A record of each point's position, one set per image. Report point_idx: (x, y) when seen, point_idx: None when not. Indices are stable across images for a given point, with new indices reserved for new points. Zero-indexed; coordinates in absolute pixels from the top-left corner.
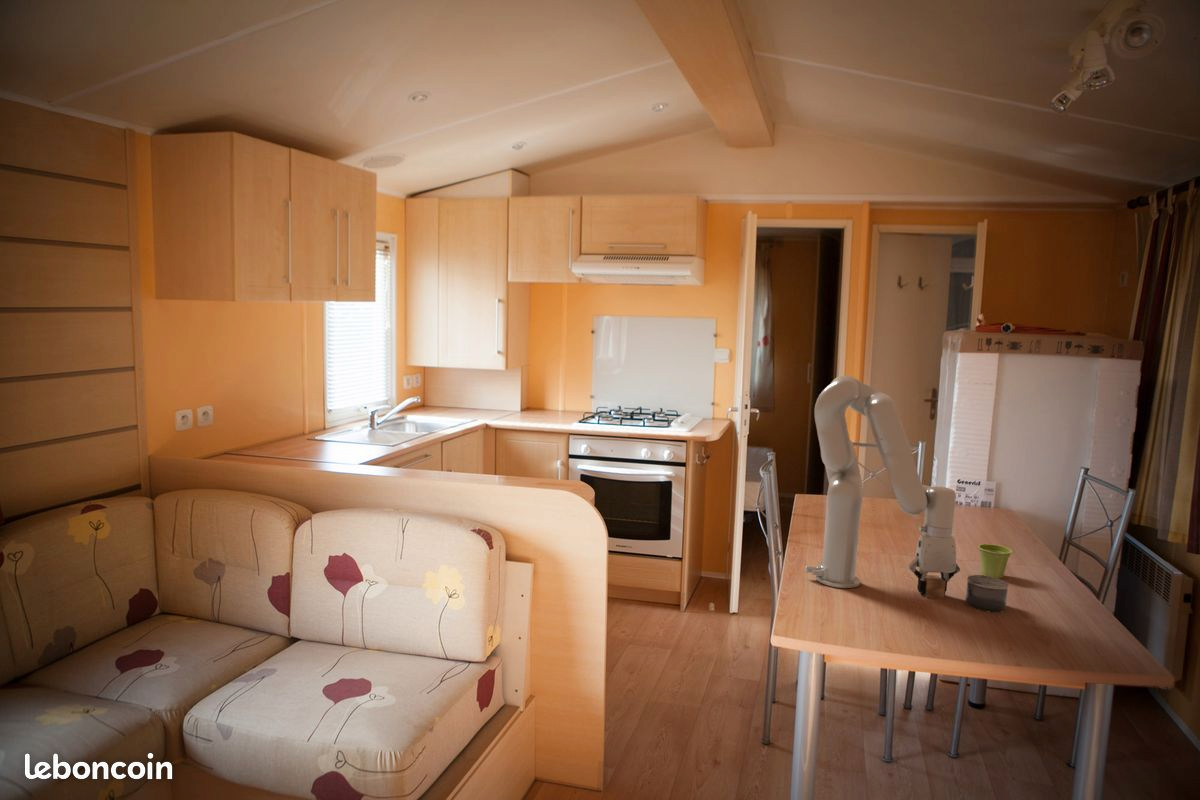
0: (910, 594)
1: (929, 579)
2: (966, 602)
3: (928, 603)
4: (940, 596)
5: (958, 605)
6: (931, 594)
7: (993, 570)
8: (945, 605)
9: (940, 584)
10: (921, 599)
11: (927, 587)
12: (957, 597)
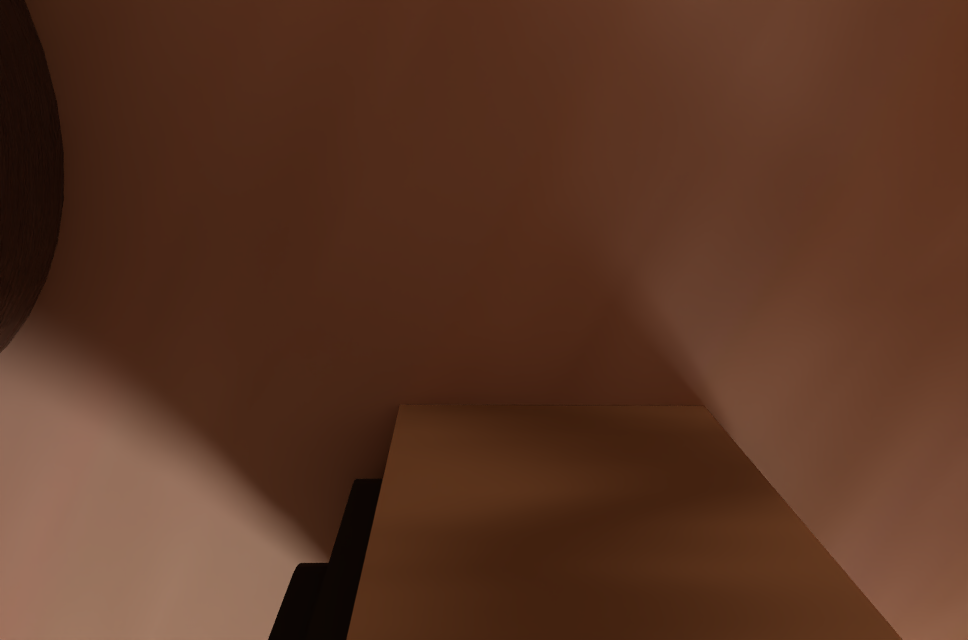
0: (878, 528)
1: None
2: (41, 164)
3: (841, 137)
4: (464, 422)
5: (264, 60)
6: (643, 439)
7: None
8: (549, 42)
9: (498, 597)
10: (841, 332)
11: (801, 532)
12: (128, 468)
